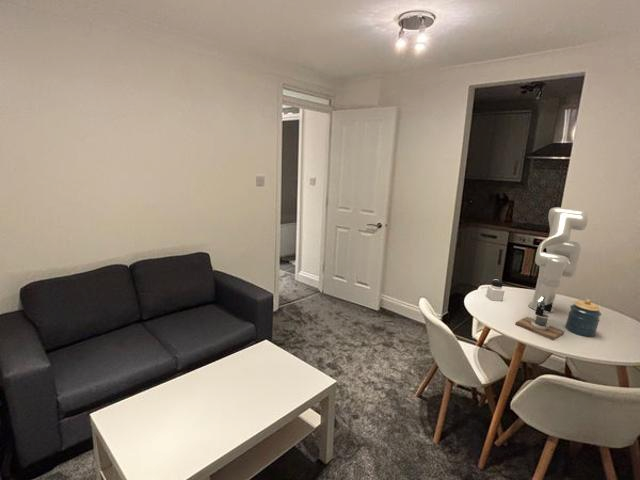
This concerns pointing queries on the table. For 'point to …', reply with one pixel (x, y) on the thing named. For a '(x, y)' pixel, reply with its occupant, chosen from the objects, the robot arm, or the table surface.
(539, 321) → the camera lens
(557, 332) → the board
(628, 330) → the table surface
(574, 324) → the canister
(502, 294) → the medicine bottle
